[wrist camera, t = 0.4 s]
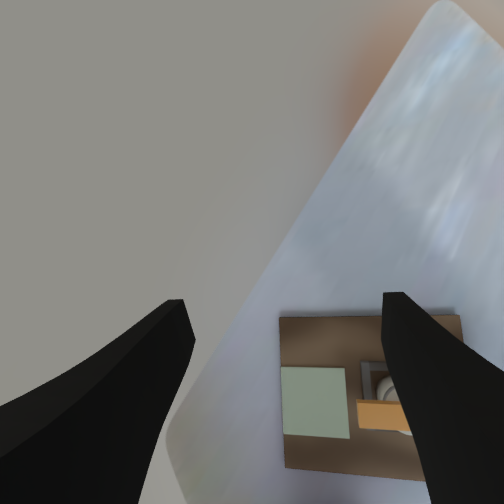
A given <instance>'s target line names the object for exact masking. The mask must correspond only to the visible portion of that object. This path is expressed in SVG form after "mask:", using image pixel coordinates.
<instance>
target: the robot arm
mask: <svg viewBox="0 0 504 504" xmlns="http://www.w3.org/2000/svg"><path fill="white" fill-rule="evenodd" d="M195 340H196V339H195V336H194V333H193V329H192V327H191V323H190V320H189V317H188V313H187V310H186V307H185V304H184V301H183V299H176V300H167V301H166V302H164V303H163V304H161V305H160V306H159V307H157V308H156V309H155V310H153V311H152V312H151V313H150V314H148V315H147V316H145V317H144V318H143V319H142V320H140V321H139V322H138V323H136V324H135V325H134V326H132V327H131V328H130V329H128V330H127V331H126V332H124V333H123V334H122V335H120V336H119V337H118V338H116V339H115V340H113V341H112V342H111V343H109V344H108V345H106V346H105V347H103V348H102V349H101V350H99V351H98V352H96V353H95V354H93V355H92V356H90V357H89V358H87V359H86V360H84V361H83V362H81V363H79V364H78V365H76V366H75V367H73V368H71V369H70V370H68V371H66V372H65V373H63V374H61V375H60V376H58V377H56V378H54V379H52V380H50V381H49V382H47V383H45V384H43V385H41V386H39V387H37V388H35V389H34V390H32V391H30V392H28V393H26V394H24V395H22V396H20V397H18V398H16V399H14V400H12V401H10V402H8V403H6V404H4V405H2V406H0V504H138V502H139V498H140V495H141V491H142V488H143V485H144V481H145V478H146V474H147V471H148V468H149V464H150V461H151V458H152V455H153V452H154V449H155V446H156V443H157V439H158V437H159V434H160V431H161V429H162V426H163V423H164V421H165V419H166V416H167V414H168V412H169V409H170V407H171V405H172V402H173V400H174V398H175V395H176V393H177V391H178V389H179V386H180V384H181V382H182V379H183V377H184V374H185V372H186V370H187V367H188V365H189V362H190V359H191V355H192V352H193V348H194V344H195ZM381 343H382V347H383V351H384V356H385V360H386V364H387V368H388V371H389V373H390V376H391V379H392V382H393V384H394V387H395V390H396V393H397V395H398V398H399V401H400V403H401V406H402V409H403V412H404V414H405V417H406V420H407V422H408V425H409V428H410V430H411V433H412V436H413V439H414V442H415V445H416V448H417V451H418V455H419V458H420V462H421V466H422V470H423V473H424V477H425V481H426V484H427V488H428V492H429V496H430V500H431V504H504V371H502V370H501V369H499V368H498V367H496V366H495V365H493V364H492V363H490V362H489V361H487V360H486V359H485V358H483V357H482V356H480V355H479V354H478V353H476V352H475V351H474V350H472V349H471V348H470V347H468V346H467V345H466V344H464V343H463V342H462V341H460V340H459V339H458V338H456V337H455V336H454V335H453V334H451V333H450V332H449V331H448V330H447V329H445V328H444V327H443V326H442V325H440V324H439V323H438V322H437V321H436V320H435V319H433V318H432V317H431V316H430V315H429V314H428V313H427V312H425V311H424V310H423V309H422V308H421V307H420V306H419V305H417V304H416V303H415V302H414V301H413V300H412V299H411V298H410V297H408V296H407V295H406V294H405V293H404V292H385V293H383V306H382V324H381Z"/></svg>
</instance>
